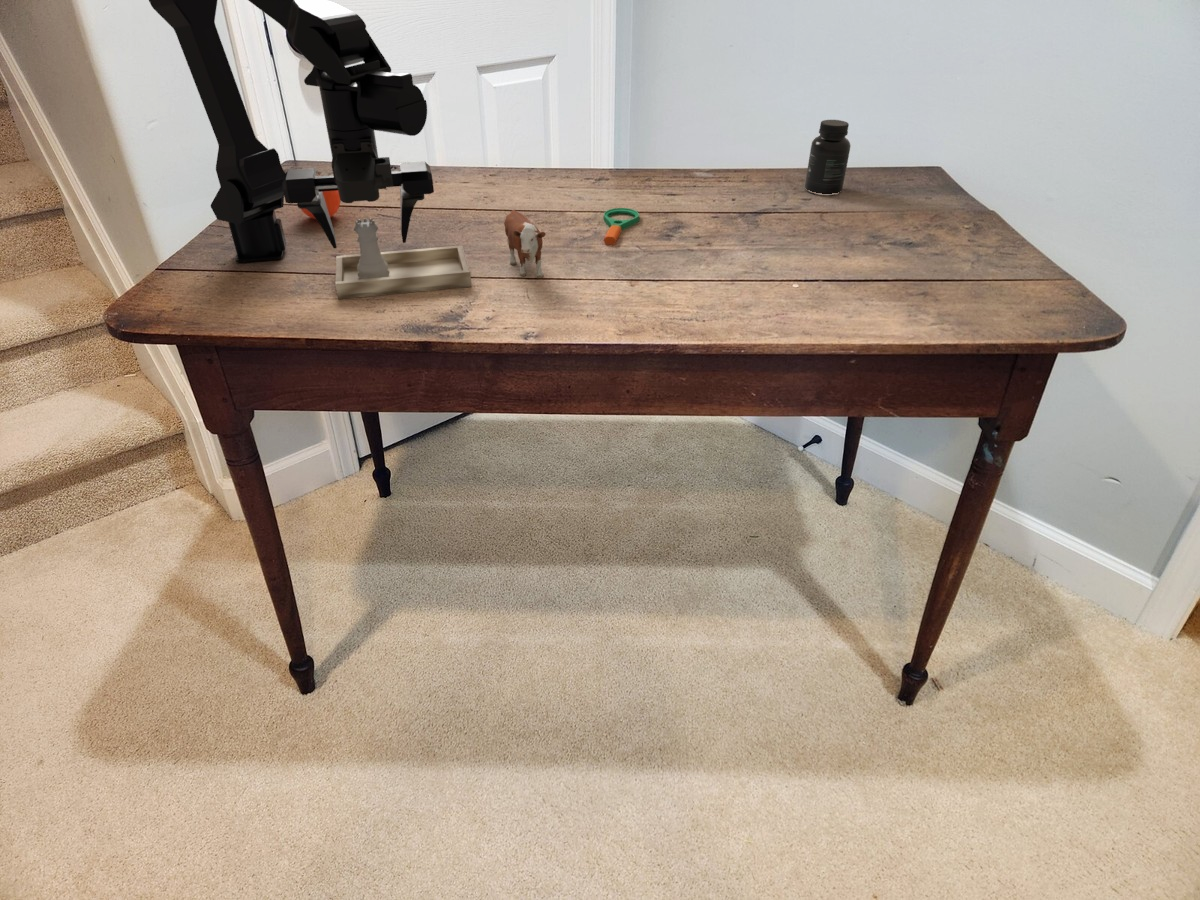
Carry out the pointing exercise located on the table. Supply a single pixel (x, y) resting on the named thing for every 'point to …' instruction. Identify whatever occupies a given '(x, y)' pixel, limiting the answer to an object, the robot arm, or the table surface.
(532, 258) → the bull figurine
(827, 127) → the supplement bottle
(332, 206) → the clementine
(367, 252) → the rook chess piece
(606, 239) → the magnifying glass
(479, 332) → the table surface
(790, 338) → the table surface
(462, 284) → the tray
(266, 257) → the robot arm
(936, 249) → the table surface
